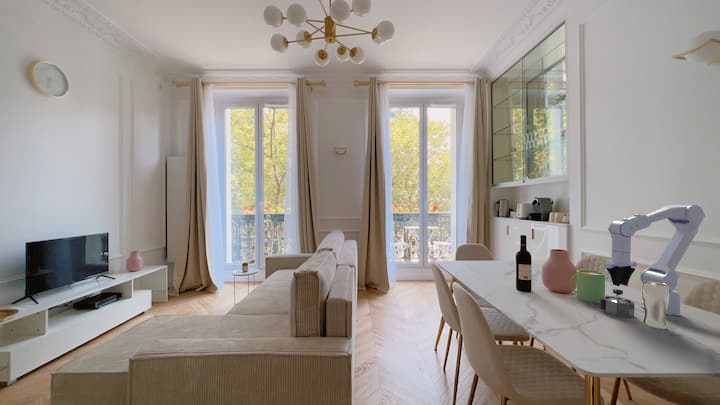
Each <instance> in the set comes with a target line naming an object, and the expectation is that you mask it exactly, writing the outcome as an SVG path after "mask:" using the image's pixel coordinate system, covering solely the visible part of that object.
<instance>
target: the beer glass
mask: <svg viewBox="0 0 720 405" xmlns="http://www.w3.org/2000/svg"><path fill="white" fill-rule="evenodd" d="M641 301H642V305H643V306H644V308H643V311H644V318H643V321H642V324H643V325H644V326H646V327H650V328H653V329H656V330H666V329H667V322H666V315H667V314H666V311H667V308H668V303H669V288H668V285H667V284H664V283H659V282H652V281H644V282H642V287H641Z"/></svg>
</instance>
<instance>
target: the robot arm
mask: <svg viewBox="0 0 720 405" xmlns="http://www.w3.org/2000/svg"><path fill="white" fill-rule="evenodd" d="M705 217H706V215H705V212H704V210H703V208H702V207H701V206H700V205H697V204H692V205H690V204H687V205H686V204H673V203H672V204H669V205H665V206H663V207H662V208H660V209H657V210H654V211H652V212H650V213H648V214H644V213H643V214H642V213H634V214H633V216H630V217H624V218H622V220H614V221H613V222H611V223H610V225H609V227H607V230H608V232H609V233H610V237H611V259H609V260H608V261H607V262H604V268H605V269H606V270H607V272H608V275H609V276H610V278H611V282H612V285H613V286H616V287H620V286H621V285H623V286H628V284H629V282H630V279H631V277H632V275H633V274H634V272H635V271H636V268H637V265H638V264H637V261H633V260H631V247H632V246H631V243H632V236H634V234H636V232H639V231H642V230H644V229H647V228H649V227H651V225H652V223H656V222H659V221H662V220H666V219H667V220H668V221H669V222H670V224H671V225H672V226H673V227H674V228H675V231H674V233H673V235H672V236H671V238H670V240H669V241H668V244H667V245H666V246H665V248H664V250H663V251H662V254H661V255H660V257H659V258H658V260H657V262H655V263H652V264H650V265H648V266H647V267H646V269H645V270H643V271H642V272H641V273H640V275H639V276H640V277H639V279H640V281H641V282H642V283H643V282H644V281H652V282H659V283H664V284H667V285H668V288H669V303H668V308H667V311H666V315H670V316H678V317H679V316H680V317H681V316H682V314H681V296H680V294H679V292H678V291H677V290H675V289H676V287H677V286H678V280H679V278H680V275H679V274H678V272H677V271H676V268H677V266H678V265H679V264H680V262H681V260H682V258H683V257H684V255H685V253H686V252H687V250H688V248H689V247H690V245H691V243H692V242H693V241H694V238H696V237H695V236H696V235H697V233H698V231H699V228H700V225H701V223H702V222H703V220H704V219H705ZM639 306H640V307H641V308H642V309H644V306H643V304H640V305H639Z"/></svg>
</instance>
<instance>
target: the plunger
mask: <svg viewBox="0 0 720 405" xmlns="http://www.w3.org/2000/svg"><path fill="white" fill-rule="evenodd" d="M612 293H613V294H615V297H616V299H615V298H608V299H607V300H609V301H613V302H617V303H626V304H628V303H629V302H627V301H625V300H621V299H620V296H621V295H624V290H621V289H618V288H614V289H612Z"/></svg>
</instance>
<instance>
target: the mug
mask: <svg viewBox="0 0 720 405" xmlns="http://www.w3.org/2000/svg"><path fill="white" fill-rule="evenodd" d="M575 278H576V289H575V288H574V287H573V280H574V279H575ZM569 284H570V288H571V289H572V291H573V292H575V294H576V298H577V299H579V300H581V301H585V302H588V303H590V302H591V303H598V304H600V299H602V297H605V296H606V273H605V272H603V271H599V270H593V269H585V268H584V269H583V268H582V269H577V270H576V274H574V275H573V276H572V277H571V278H570V281H569Z"/></svg>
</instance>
